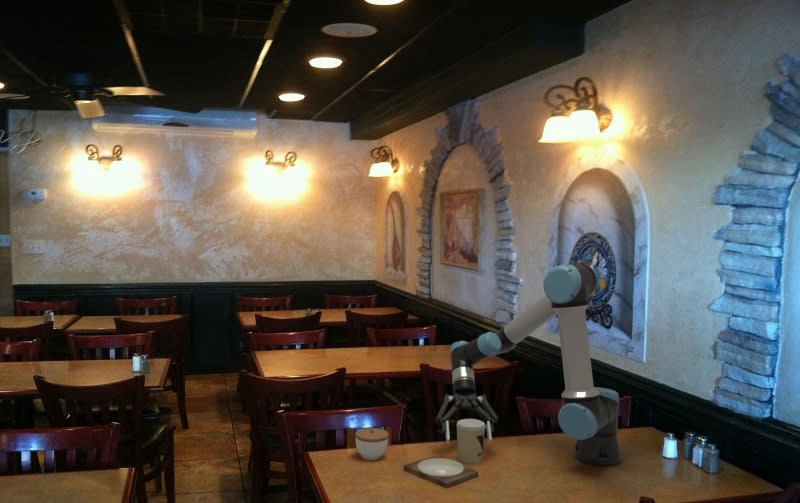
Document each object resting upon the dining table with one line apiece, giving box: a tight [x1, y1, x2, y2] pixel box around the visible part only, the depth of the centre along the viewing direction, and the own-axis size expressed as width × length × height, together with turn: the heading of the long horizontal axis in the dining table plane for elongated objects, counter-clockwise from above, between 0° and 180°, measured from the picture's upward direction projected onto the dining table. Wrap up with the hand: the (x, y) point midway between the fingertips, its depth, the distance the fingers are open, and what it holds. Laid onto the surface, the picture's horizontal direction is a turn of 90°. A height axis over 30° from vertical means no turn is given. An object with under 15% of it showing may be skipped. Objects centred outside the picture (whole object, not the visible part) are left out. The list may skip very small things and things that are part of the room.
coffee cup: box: [456, 418, 487, 465], centre depth 225 cm, size 9×9×12 cm
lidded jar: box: [355, 427, 390, 461], centre depth 225 cm, size 11×11×9 cm
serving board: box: [403, 454, 479, 489], centre depth 213 cm, size 18×14×2 cm
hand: (469, 441), depth 225 cm, fingers open, 13 cm apart
